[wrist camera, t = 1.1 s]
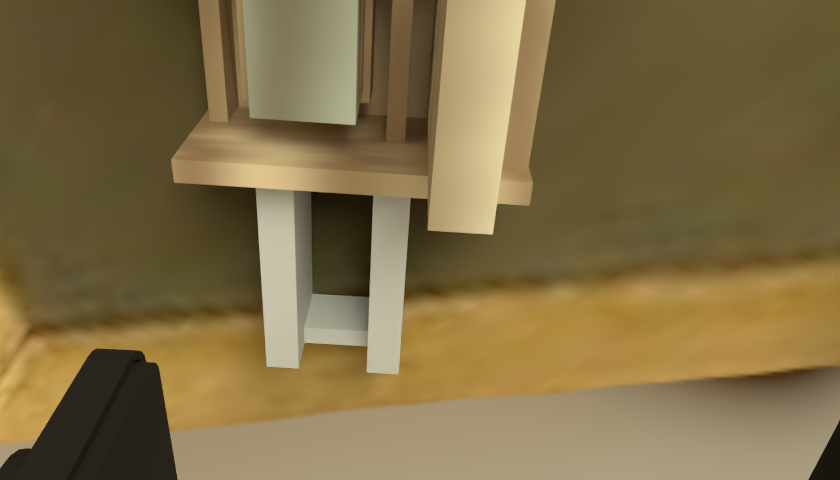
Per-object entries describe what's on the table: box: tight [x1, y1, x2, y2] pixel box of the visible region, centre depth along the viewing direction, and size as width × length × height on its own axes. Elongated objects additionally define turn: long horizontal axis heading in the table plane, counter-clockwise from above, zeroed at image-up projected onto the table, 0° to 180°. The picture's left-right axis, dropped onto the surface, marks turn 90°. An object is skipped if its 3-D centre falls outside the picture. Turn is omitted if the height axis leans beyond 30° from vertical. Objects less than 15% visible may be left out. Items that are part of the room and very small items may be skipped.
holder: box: [256, 188, 411, 374], centre depth 34 cm, size 7×10×5 cm, turn 176°
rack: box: [171, 0, 556, 206], centre depth 28 cm, size 14×11×7 cm
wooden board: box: [428, 0, 526, 235], centre depth 25 cm, size 2×7×12 cm, turn 176°
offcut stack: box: [236, 0, 376, 125], centre depth 27 cm, size 5×7×6 cm
